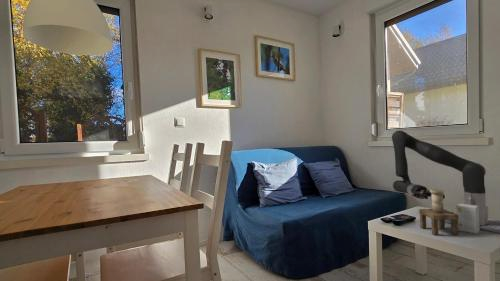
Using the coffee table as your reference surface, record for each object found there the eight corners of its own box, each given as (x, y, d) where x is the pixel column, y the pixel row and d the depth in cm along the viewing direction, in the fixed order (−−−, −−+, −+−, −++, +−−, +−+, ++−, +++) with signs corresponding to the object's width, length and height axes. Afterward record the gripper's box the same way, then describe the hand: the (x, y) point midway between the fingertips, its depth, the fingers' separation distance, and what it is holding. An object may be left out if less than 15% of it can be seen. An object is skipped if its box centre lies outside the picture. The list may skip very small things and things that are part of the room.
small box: (479, 231, 136) (479, 205, 136) (476, 234, 132) (476, 208, 132) (460, 227, 142) (459, 203, 142) (456, 230, 138) (456, 205, 138)
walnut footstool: (442, 227, 144) (441, 208, 143) (459, 235, 132) (458, 215, 131) (419, 227, 144) (419, 209, 144) (434, 235, 132) (433, 215, 132)
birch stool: (439, 210, 141) (438, 189, 141) (447, 213, 135) (446, 191, 135) (428, 210, 141) (427, 189, 141) (435, 213, 135) (434, 191, 135)
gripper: (404, 184, 156) (421, 190, 139) (429, 184, 155) (449, 189, 139) (405, 197, 156) (422, 204, 139) (429, 197, 155) (449, 203, 139)
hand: (435, 197), depth 139 cm, fingers open, 8 cm apart
